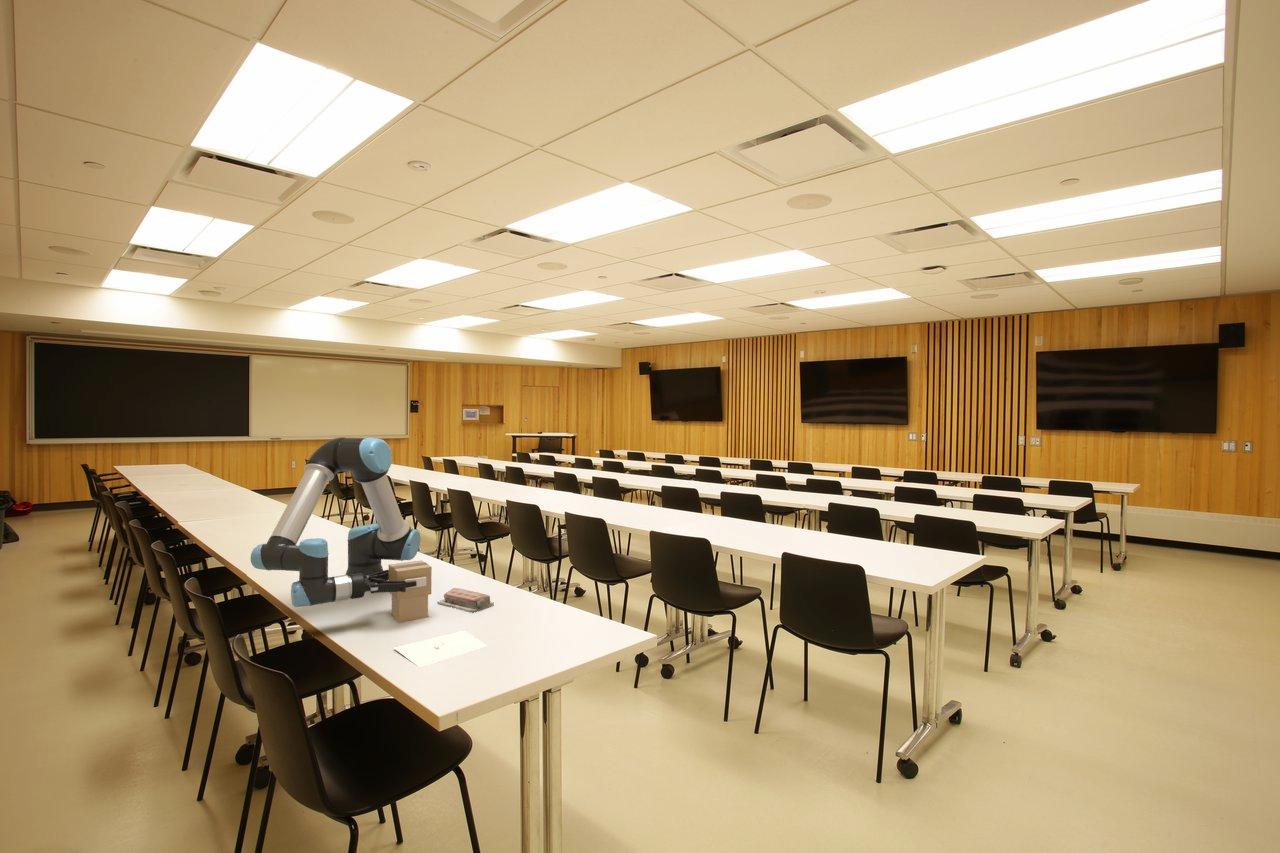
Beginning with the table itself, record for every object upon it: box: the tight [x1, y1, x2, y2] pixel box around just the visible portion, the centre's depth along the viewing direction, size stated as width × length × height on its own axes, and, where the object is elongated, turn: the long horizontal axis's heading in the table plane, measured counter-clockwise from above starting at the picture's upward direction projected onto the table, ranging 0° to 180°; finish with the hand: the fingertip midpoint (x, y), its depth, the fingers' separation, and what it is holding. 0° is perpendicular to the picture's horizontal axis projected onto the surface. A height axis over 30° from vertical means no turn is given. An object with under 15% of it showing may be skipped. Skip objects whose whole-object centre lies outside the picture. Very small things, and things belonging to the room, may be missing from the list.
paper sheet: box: [393, 630, 488, 668], centre depth 164 cm, size 24×29×1 cm
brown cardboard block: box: [388, 559, 433, 600], centre depth 195 cm, size 11×11×9 cm
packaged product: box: [437, 587, 494, 614], centre depth 208 cm, size 18×5×10 cm
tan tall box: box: [391, 595, 429, 623], centre depth 195 cm, size 9×9×16 cm
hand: (419, 576), depth 197 cm, fingers open, 13 cm apart
